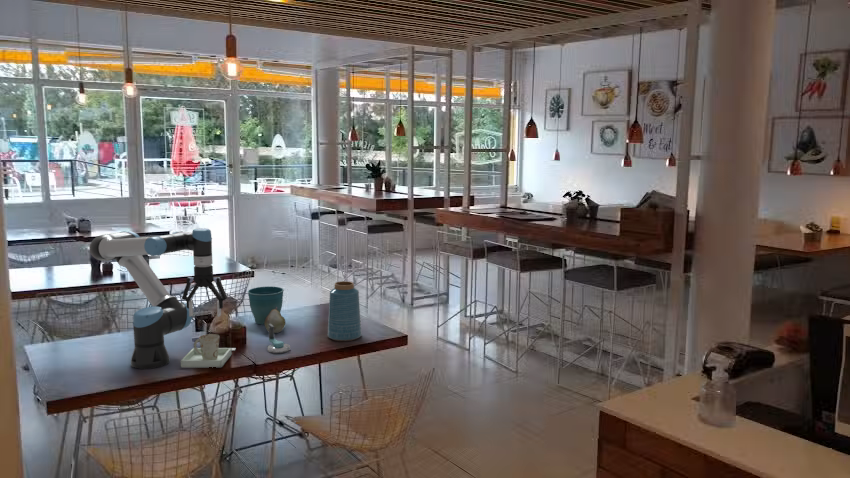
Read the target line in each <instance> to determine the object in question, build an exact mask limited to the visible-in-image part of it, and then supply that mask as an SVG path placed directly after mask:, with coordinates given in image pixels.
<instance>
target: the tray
mask: <svg viewBox="0 0 850 478" xmlns="http://www.w3.org/2000/svg"><path fill="white" fill-rule="evenodd" d="M232 348H233V347H219V348H218V358H217V360H203V358H202V354H199V353H197V352H196V351H195V349H194V347H193V348H192V349H191V350H190V351H189V352H187V354H186V355H185V356H184V357H183V358H182V359H181V360H180V368H181V369H182V368H183V369H184V368H187V369H188V368H193V369H194V368H195V369H196V368H197V369H198V368H199V369H200V368H203V369H204V368H205V369H206V368H209V367H212V368H213V367H216V368H217V369H219V368H221V369H222V368H223V367H224V365H225V364H226V363H227V361H229V359H230V358H231V357H232V355H233V352H232ZM197 349H198V351H200V352H201V347H197Z"/></svg>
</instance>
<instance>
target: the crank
mask: <svg viewBox="0 0 850 478" xmlns="http://www.w3.org/2000/svg"><path fill="white" fill-rule="evenodd" d="M268 327H269V332H268V342H269V343H270V344H271V345H272V344H273V345H274V347H275V348H282V347H284V344H285V342H284V341H282V340H277V339H276V338H275V333H274V326H273V325H272V324H268Z"/></svg>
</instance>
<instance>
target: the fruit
mask: <svg viewBox="0 0 850 478" xmlns="http://www.w3.org/2000/svg"><path fill="white" fill-rule="evenodd" d="M264 324H265V325H264V327H265V329H266V331H267V332H268V333H269V327H268V324H272V325H273V326H274V334H276V333H277V334H278V333H281V332H282V331H283V329H284V328H285V326H286V319H285V317H284V316H283V315H282V314H281V311H280V312H279V311H278V310H277V307H276V309H273V310H271V311H270V313H269V314H268V316H267V317H266V319H265V322H264Z"/></svg>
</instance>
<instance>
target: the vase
mask: <svg viewBox="0 0 850 478" xmlns="http://www.w3.org/2000/svg"><path fill="white" fill-rule="evenodd" d="M328 303H329V305H328V307H329V308H328V321H327V323H328V324H327V337H328V338H329V339H331V341H336V342H337V341H338V342H351V341H356V340H358V339H359V338H360V337H361V336H362V324H361V323H362V319H361V309H360V307H361V306H360V305H361V304H360V291H359V289H357V288H355V284H354V282H352V281H346V280H345V281H337V282H335V283H334V286H333V288H332V289H330V291H329V302H328Z"/></svg>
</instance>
